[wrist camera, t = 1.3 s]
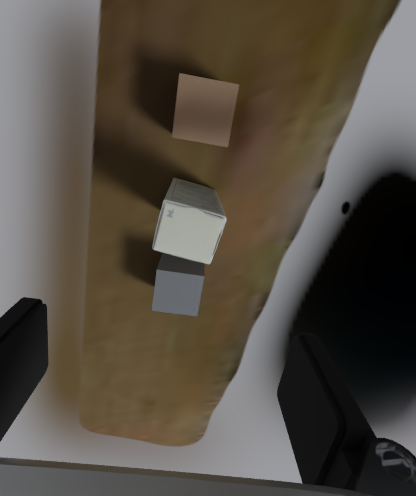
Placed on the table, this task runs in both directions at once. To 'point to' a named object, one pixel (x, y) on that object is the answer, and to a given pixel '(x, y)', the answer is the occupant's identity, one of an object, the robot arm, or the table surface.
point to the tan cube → (204, 110)
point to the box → (189, 222)
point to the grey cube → (178, 285)
